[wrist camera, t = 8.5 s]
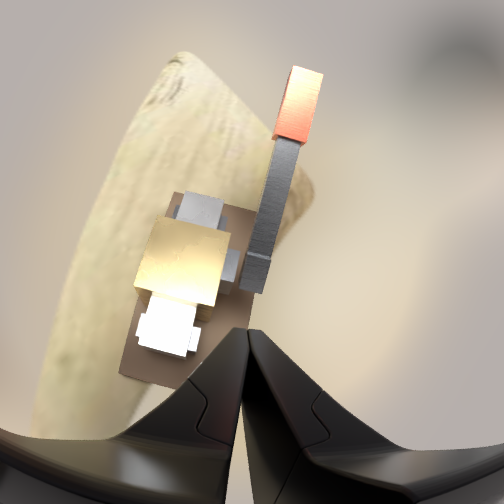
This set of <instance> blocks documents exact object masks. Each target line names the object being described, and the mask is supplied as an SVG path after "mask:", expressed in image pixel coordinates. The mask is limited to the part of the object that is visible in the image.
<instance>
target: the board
mask: <svg viewBox="0 0 504 504" xmlns="http://www.w3.org/2000/svg"><path fill="white" fill-rule="evenodd" d="M183 197H184V194H182V193H178V192H174V194H173V196H172V199H171V201H170V204H169V207H168V210H167V212H166V215H165V217H168V218H172V215H173V212H174V209H175V207H176V204H177V205H181V202H182V200H183ZM221 215H222V216H226V217H228V220H227V224H226V228H225V232H229V233H231V236H230V240H229V244H228V248H230V249H234V250H238V251H240V256H239V260H238V265H237V270H236V274H235V279H234V283H233V285H232V288H231V290H230V292H229V295H225V294H221V293H217V295H216V299H215V304H214V308H213V311H212V314H211V317H210V321H209V322H204V321H200V320H196V319H195V322H194V326H193V327H197V328H201V331H200V336H199V341H198V345H197V350H196V354H195V355H192V354H188V353H187V357H186V360H184V359H180V358H177V357H173V356H169V355H165V354H161V353H158V352H154V351H151V350H147V349H145V348H143V347H142V346H141V345H140V344H139V340H140V339H139V338H138V337H137V336H136V332H137V328H138V324H139V321H140V317H141V313H144V314H147V310H148V307H147V306H144V304H143V302H142V301H141V299H140V297H138V300H137V304H136V307H135V311H134V314H133V318H132V321H131V325H130V329H129V332H128V336H127V340H126V344H125V348H124V352H123V356H122V360H121V364H120V368H119V372H118V373H120V374H123V375H126V376H129V377H133V378H136V379H139V380H143V381H146V382H150V383H153V384H157V385H161V386H164V387H168V388H172V389H177V388H178V387H179V386H180V385H181V384H182V383H183V382H184V381H185V380H187V378H188V377H189V376H190V375H191V373H192V372H193V371H194V370H195V369H196V368H197V367H198V366H199V365H200V364H201V362H202V361H203V360H204V359H205V358H206V357H207V356H208V355H209V354H210V352H211V351H212V350H213V349H214V348H215V347H216V346H217V345H218V343H219V342H220V341H221V340H222V339H223V338H224V337H225V336H226V334H227V333H228V332H229V331H230V330H231V329H232V328H233V327H237V328H245V329H246V330H248V325H249V320H250V315H251V309H252V304H253V299H254V293H255V292H250V291H246V290H242V289H239V282H238V279H239V275H240V271H241V268H242V264H243V260H244V256H245V252H246V248H247V247H248V243H249V239H250V235H251V231H252V228H253V224H254V220H255V216H256V212H255V211H251V210H247V209H243V208H239V207H235V206H231V205H227V204H224V205H223V209H222V214H221ZM228 248H227V249H228Z"/></svg>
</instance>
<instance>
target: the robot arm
mask: <svg viewBox="0 0 504 504" xmlns="http://www.w3.org/2000/svg"><path fill="white" fill-rule="evenodd" d="M240 406H242V415H243V423H244V431H245V440H246V447H247V456H248V463H249V471H250V479H251V486H252V493H253V500H254V504H504V443H503V444H499V445H494V446H488V447H481V448H471V449H456V450H427V451H416V450H410V449H406V448H402V447H400V446H398V445H396V444H394V443H393V442H391V441H389V440H388V439H386V438H385V437H384V436H382V435H380V434H379V433H378V432H376V431H375V430H373V429H372V428H371V427H369V426H368V425H366V424H365V423H363V422H362V421H361V420H359V419H358V418H357V417H355V416H354V415H353V414H351V413H350V412H349V411H347V410H346V409H345V408H344V407H342V406H341V405H340V404H339V403H338V402H336V401H335V400H334V399H333V398H332V397H331V396H330V395H329V394H328V393H326V392H325V391H323V389H322V388H321V387H320V386H319V385H318V384H317V383H316V382H315V381H313V380H312V379H311V378H310V377H309V376H308V375H307V374H306V373H305V372H304V371H303V370H302V369H301V368H300V367H299V366H298V365H297V364H296V363H295V362H293V361H292V360H291V359H290V358H289V357H288V356H287V355H286V354H285V353H284V352H283V351H282V350H281V349H280V348H279V347H278V346H277V345H276V344H275V343H274V342H273V341H272V340H271V339H270V338H269V337H268V336H267V335H266V334H265V333H264V332H262V331H261V330H255V329H248V330H246V329H245V328H237V327H233V328H232V329H231V330H230V331H229V332H228V333H227V334H226V336H225V337H224V338H223V339H222V340H221V341H220V342H219V343H218V345H217V346H216V347H215V348H214V349H213V350H212V351H211V352H210V354H209V355H208V356H207V357H206V358H205V359H204V360H203V361H202V362H201V364H200V365H199V366H198V367H197V368H196V369H195V370H194V371H193V372H192V373H191V375H190V376H189V377H188V378H187V380H185V381H184V382H183V383H182V384H181V385H180V386H179V387H178V388H177V389H176V390H175V392H173V393H172V394H171V395H170V396H169V397H168V398H167V399H166V400H165V401H163V402H162V403H161V404H160V405H159V406H157V407H156V408H155V409H153V410H152V411H151V412H149V413H148V414H147V415H145V416H144V417H143V418H141V419H140V420H139V421H137V422H136V423H134V424H133V425H132V426H130V427H129V428H128V429H126V430H125V431H123V432H122V433H120V434H118V435H116V436H114V437H112V438H109V439H105V440H54V439H38V438H31V437H25V436H20V435H17V434H14V433H11V432H8V431H6V430H3V429H1V428H0V504H225V500H226V492H227V484H228V477H229V469H230V463H231V457H232V451H233V446H234V440H235V434H236V429H237V423H238V418H239V412H240Z"/></svg>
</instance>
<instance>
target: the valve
mask: <svg viewBox="0 0 504 504" xmlns="http://www.w3.org/2000/svg"><path fill="white" fill-rule="evenodd" d="M223 205H224V200H222V199H218V198H214V197H210V196H205V195H201V194H197V193H193V192H189V191H185V194H184V197H183V200H182V202H181V205H177V204H176V207H175V209H174V212H173V215H172V218H168V217H164V216H160V215H157V218H156V221H155V224H154V226H153V229H152V232H151V235H150V237H149V240H148V243H147V246H146V249H145V252H144V255H143V258H142V261H141V264H140V267H139V270H138V273H137V276H136V279H135V282H134V285H133V286H134V287H135V289H136V291H137V293H138V295H139V297H140V299H141V301H142V302H143V304H144V306H147V307H148V310H147V314H144V313H141V317H140V321H139V324H138V328H137V332H136V336H137V337H138V338H139V339H140V340H139V344H140V345H141V346H142V347H143V348H145V349H147V350H151V351H154V352H158V353H161V354H165V355H169V356H173V357H177V358H180V359H184V360H186V357H187V353H188V354H192V355H195V354H196V350H197V345H198V341H199V336H200V331H201V328H197V327H193V326H194V322H195V319H196V320H200V321H204V322H209V321H210V317H211V314H212V311H213V308H214V304H215V299H216V295H217V293H221V294H225V295H229V292H230V290H231V288H232V285H233V283H234V279H235V274H236V270H237V265H238V260H239V256H240V251H238V250H234V249H230V248H228V244H229V240H230V236H231V233H229V232H225V228H226V224H227V220H228V217H226V216H222V215H221V214H222V209H223ZM227 248H228V249H227Z"/></svg>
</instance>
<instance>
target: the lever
mask: <svg viewBox="0 0 504 504" xmlns="http://www.w3.org/2000/svg"><path fill="white" fill-rule="evenodd" d="M322 77H323V75H322V74H319V73H316V72H313V71H310V70H307V69H304V68H301V67H297V66H293V68H292V70H291V72H290V74H289V77H288V80H287V84H286V88H285V91H284V95H283V99H282V102H281V106H280V110H279V113H278V117H277V121H276V125H275V128H274V132H273V136H272V140H275V144H274V148H273V152H272V156H271V159H270V163H269V167H268V171H267V174H266V178H265V182H264V186H263V190H262V193H261V197H260V201H259V205H258V209H257V212H256V216H255V220H254V224H253V228H252V231H251V235H250V239H249V243H248V247H247V248H246V252H245V256H244V260H243V264H242V268H241V271H240V275H239V279H238V282H239V289H242V290H246V291H250V292H255V293H259V294H262V292H263V288H264V285H265V281H266V278H267V274H268V270H269V267H270V263H271V259H270V258H271V255H272V251H273V248H274V244H275V240H276V236H277V233H278V229H279V225H280V222H281V218H282V214H283V210H284V207H285V203H286V199H287V195H288V192H289V188H290V184H291V180H292V176H293V173H294V169H295V165H296V161H297V157H298V153H299V149H300V147H301V146H302V145H304V144H305V143H306V142H307V138H308V134H309V130H310V126H311V122H312V118H313V114H314V110H315V106H316V102H317V97H318V93H319V89H320V85H321V81H322Z"/></svg>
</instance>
